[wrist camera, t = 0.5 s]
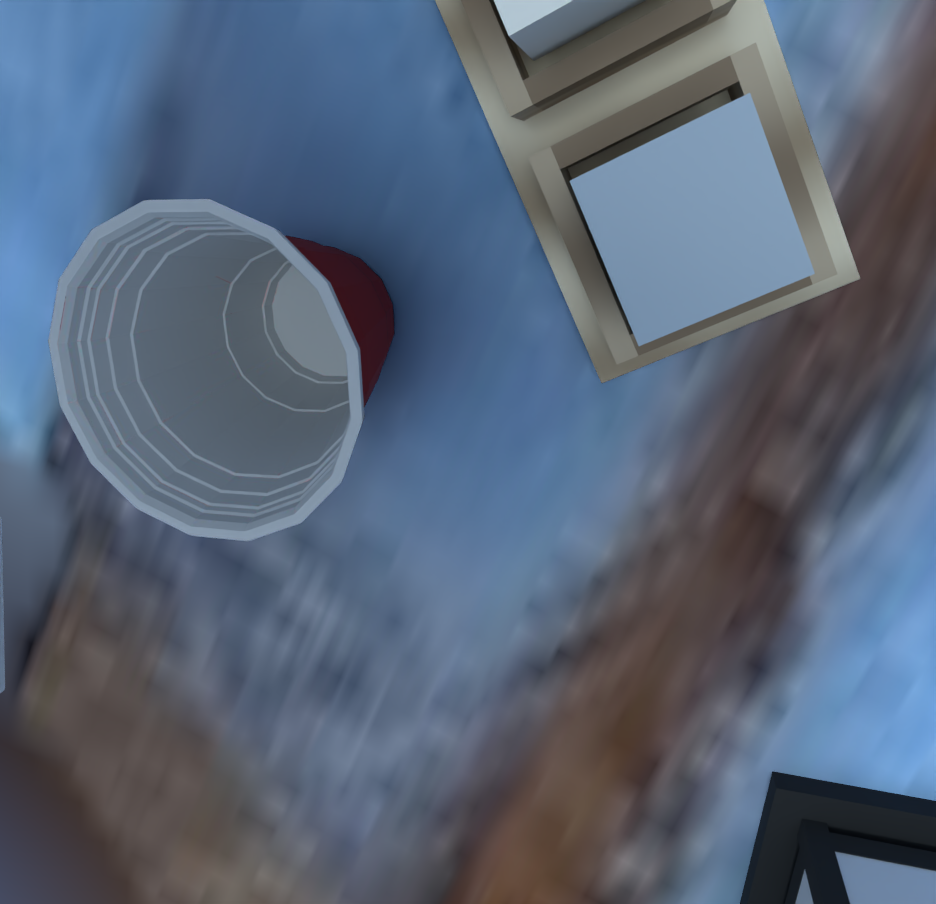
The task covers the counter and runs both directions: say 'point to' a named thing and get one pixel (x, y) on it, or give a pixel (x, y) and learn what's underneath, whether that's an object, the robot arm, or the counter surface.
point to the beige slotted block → (642, 142)
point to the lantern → (841, 846)
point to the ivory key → (555, 21)
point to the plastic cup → (216, 364)
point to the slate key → (693, 222)
